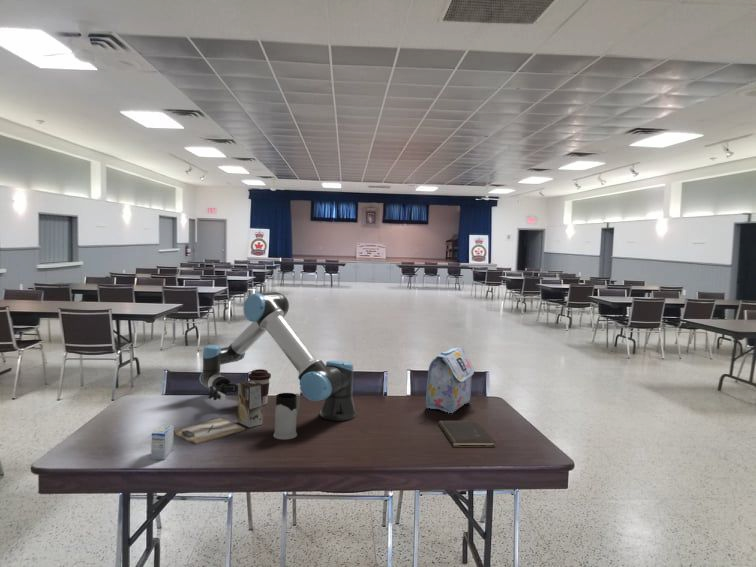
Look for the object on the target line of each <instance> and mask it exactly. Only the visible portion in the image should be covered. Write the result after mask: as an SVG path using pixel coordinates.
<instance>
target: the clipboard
mask: <svg viewBox="0 0 756 567" xmlns="http://www.w3.org/2000/svg"><path fill="white" fill-rule="evenodd" d="M245 429H246V428H245V426H244V427H243V426H241V425H238V424H236V423H234V422H232V421H229V420H226V419H224V418H222V417H220V418H215V419H211V420H208V421H205V422H202V423H201V422H200V423H196V424H193V425H189V426H185V427H182V428H178V429H174V435H176V436H178V437H180V438H182V439H184V440H186V441H187V442H190V443H192V444H194V445H199V444H203V443H206V442H210V441H212V440H216V439H219V438H223V437H226V436H229V435H232V434H236V433H239V432H243V431H245Z"/></svg>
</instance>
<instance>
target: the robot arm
mask: <svg viewBox="0 0 756 567" xmlns="http://www.w3.org/2000/svg"><path fill="white" fill-rule="evenodd" d="M289 309H290V304H289V300H288V298H287V296H285V295H284V293H281V292H277V291H276V292H275V291H274V292H271V291H270V292H256V293H252V294H250V295H248V296H247V297H246V299H245V300H244V304H243V315H244V316H245V318H246V320H248V321H249V322H251V323H250V324H249V325H248V326H247V327H246V328H245V329H244V330H243V331H242V332H241V333H240V334H239V335H238V336H237V337H236V339H234V340H233V341H232V342H231V343H230V344H229V345H228V346H225V347H221V346H220V345H214V344H211V345H205V346H204V347H203V352H202V372H201V373H200V375H199V382H200V384H201V385H203V387H205V388H207V389H209V390H208V399H209V400H210V399H212V398H213V401H217V400H220V401H221V402H223V403H226V401H227V400H226V397H227V396H226V395H227V394H228V393H236V392H237V393H238V383H239V382H236V383H232V382H231V380H230V379H229V378H227V377H225V376H223V375H221V365H225V364H229V363H235V362H239V361H241V360H243V359H244V358H245V355H246V352H247V351H248V350H249V349H250V348H251V347H252V346H253V345H254V344H255V343H256V342H257V341H258V340H259V339H260V338H261V337H262V336H263V335H264V334H265V333H267V332H268V334H269V335H270V336H271V338H272V339H273V341H274V342H275V343H276V344H277V346H278V347H279V349H280V350H281V351H282V352H283V354H284V355H285V356H286V358H287V359H288V360H289V361H290V363H291V364H292V365H293V367H294V368H295V369H296V371H297V372H298V375H297V376H298V377H297V379H298V380H299V386H300V387H299V389H300V391H301V393H302V395H303V396H304V397H305V398H306V399H308V400H309V401H311V402H313V401H314V402H319V401H323V402H322V404H321V405H322V406H321V408H320V410H319V411H320V412H319V413H320V415H319V416H320V417H321V418H323V419H325V420H330V421H335V422H336V421H338V422H341V421H347V420H352V419H353V418H356V416H357V414H356V413H357V409H356V407H355V404H354V399H353V391H354V390H353V389H354V388H353V387H354V385H353V384H354V365H353V363H352V362H350V361H343V360H327V361H326V362H325V363H324V361H323V360H322V359H317V358H315V356H314V354H312V352H311V351H310V350H309V349H308V347H307V346H306V345H305V344H304V342H303V340H302V339H301V338H300V337H299V335H298V334H297V333H296V331H294V329H293V327H292V326H291V325H290V324H289V323H288V322H287V320H286V319H285V316H286V315H287V314H288V311H289Z"/></svg>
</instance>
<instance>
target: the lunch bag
mask: <svg viewBox="0 0 756 567" xmlns="http://www.w3.org/2000/svg"><path fill="white" fill-rule="evenodd" d="M474 373H475V368H474V366H473V365H472V363H471V361H470V359H469V358H468V356H467V354H466V351H465V349H464V347H454V348H449V349H448V350H447V351H440V354H439V355H436V357H435V358H433V359H432V360H431V362H430V363H429V366H428V371H427V379H426V380H427V381H426V392H425V394H426V396H425V405H426V406H425V407H426V408H427V409H429V408H430V410H431V409H433V410H440V411H443V412H445V413H447V412H448V413H447V414H449V413H452V414H453V413H455V412H456V411H457V410H458V409H460V408H462V407H463V406H465V405H466V404H468V403H470V400H471V395H472V393H471V392H472V376H473V375H474ZM464 404H465V405H464Z"/></svg>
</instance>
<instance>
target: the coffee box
mask: <svg viewBox="0 0 756 567" xmlns="http://www.w3.org/2000/svg"><path fill="white" fill-rule="evenodd" d="M263 409H264V405H263V384H260V383H258V382H255V381H252V380H249V379H248V380H245V381H241V382H239V383H238V391H237V423H238V424H241V425H243V426H244V427H248V428H253V427H256V426H261V425H263Z"/></svg>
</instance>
